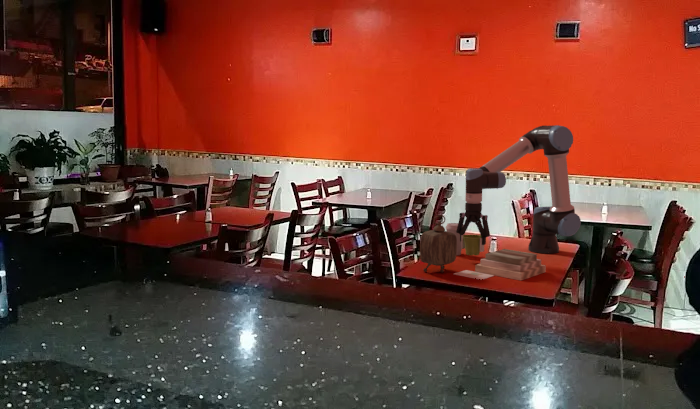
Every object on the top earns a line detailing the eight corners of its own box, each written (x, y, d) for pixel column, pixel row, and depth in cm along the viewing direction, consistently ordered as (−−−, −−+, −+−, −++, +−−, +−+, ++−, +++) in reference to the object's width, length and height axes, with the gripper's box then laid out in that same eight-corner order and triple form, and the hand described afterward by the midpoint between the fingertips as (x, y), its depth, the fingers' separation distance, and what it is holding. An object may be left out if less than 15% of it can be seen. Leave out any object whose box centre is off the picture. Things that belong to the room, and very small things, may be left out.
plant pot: (458, 254, 291) (458, 236, 290) (469, 251, 298) (469, 233, 297) (475, 257, 285) (476, 238, 283) (486, 254, 291) (487, 235, 290)
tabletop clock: (442, 267, 281) (444, 212, 278) (457, 271, 274) (459, 215, 270) (419, 271, 272) (420, 215, 269) (433, 276, 265) (435, 217, 262)
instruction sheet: (466, 270, 276) (466, 269, 276) (494, 275, 266) (494, 275, 266) (453, 274, 269) (453, 273, 269) (481, 279, 259) (481, 279, 259)
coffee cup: (442, 255, 308) (443, 225, 307) (447, 251, 317) (448, 222, 315) (461, 256, 305) (462, 226, 303) (465, 253, 314) (466, 223, 312)
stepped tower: (501, 264, 290) (501, 247, 289) (545, 272, 275) (546, 254, 274) (475, 271, 274) (475, 253, 273) (520, 280, 259) (521, 261, 258)
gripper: (449, 201, 293) (448, 248, 296) (490, 205, 278) (488, 254, 281) (458, 199, 298) (457, 245, 301) (499, 203, 283) (497, 252, 286)
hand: (472, 250), depth 291 cm, fingers closed on plant pot, 9 cm apart
